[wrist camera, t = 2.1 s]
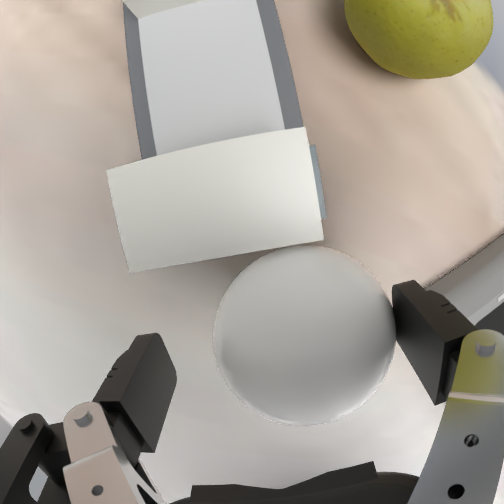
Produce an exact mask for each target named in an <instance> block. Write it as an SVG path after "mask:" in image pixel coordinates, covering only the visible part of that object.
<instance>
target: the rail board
mask: <svg viewBox="0 0 504 504" xmlns="http://www.w3.org/2000/svg"><path fill="white" fill-rule="evenodd" d="M123 9H124V24H125V36H126V47H127V57H128V67H129V76H130V84H131V92H132V99H133V106H134V113H135V120H136V126H137V133H138V139H139V145H140V151H141V156H142V160H143V159H147V158H150V157H154V156H158V155H162V154H166V153H170V152H174V151H178V150H182V149H186V148H191V147H195V146H200V145H204V144H209V143H214V142H218V141H223V140H228V139H233V138H239V137H244V136H249V135H255V134H261V133H267V132H273V131H279V130H286V129H293V128H300V127H303V122H302V117H301V112H300V107H299V102H298V97H297V92H296V88H295V83H294V79H293V74H292V70H291V66H290V61H289V57H288V53H287V49H286V45H285V41H284V37H283V33H282V29H281V25H280V21H279V17H278V14H277V10H276V6H275V3H274V0H205V1H200V2H196V3H192V4H188V5H184V6H180V7H176V8H172V9H169V10H165V11H162V12H159V13H155V14H152V15H149V16H146V17H143V18H140V19H138V18H137V17H136V16H135V15H134V14H133V13H132V12H131V10H130V9H129V8H128V7H127V6H126V5H125V4H124V2H123Z"/></svg>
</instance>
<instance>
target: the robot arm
mask: <svg viewBox="0 0 504 504" xmlns="http://www.w3.org/2000/svg"><path fill="white" fill-rule="evenodd" d="M392 305H393V312H394V316H395V322H396V340H397V342H398V344H399V345H400V347H401V349H402V350H403V352H404V354H405V355H406V357H407V359H408V360H409V362H410V363H411V365H412V367H413V369H414V370H415V372H416V374H417V375H418V377H419V379H420V380H421V382H422V384H423V386H424V387H425V389H426V391H427V393H428V394H429V396H430V398H431V400H432V401H433V403H434V405H438V404H440V403H443V402H445V401H447V403H446V406H445V409H444V413H443V416H442V419H441V422H440V425H439V428H438V431H437V434H436V437H435V440H434V442H433V445H432V448H431V450H430V453H429V456H428V458H427V461H426V463H425V466H424V468H423V470H422V473H421V475H420V477H417V476H414V475H410V474H405V473H397V472H376V469H375V465H374V462H373V461H372V462H368V463H364V464H360V465H356V466H352V467H348V468H344V469H339V470H335V471H330V472H327V473H324V474H322V475H319V476H317V477H314V478H312V479H309V480H307V481H304V482H301V483H299V484H296V485H293V486H290V487H287V488H284V489H268V488H259V487H251V486H243V485H236V484H229V485H192V491H191V496H190V497H188V498H184V499H181V500H178V501H175V502H173V503H170V504H493V501H494V497H495V494H496V490H497V486H498V482H499V478H500V474H501V469H502V464H503V460H504V335H502V334H501V333H499V332H497V331H494V330H488V329H482V330H478V329H477V328H476V327H475V326H474V325H473V324H472V323H471V322H470V321H469V320H468V319H467V318H466V317H465V316H464V315H463V314H462V313H461V312H460V311H459V310H458V311H457V308H456V307H455V306H454V305H453V304H451V302H450V301H449V300H448V299H446V298H445V297H444V296H443V295H442V294H439V293H437V292H435V291H432V290H428V291H425V290H424V289H423V288H422V287H421V286H420V285H419V284H418V283H417V282H416V281H415V280H411V281H407V282H403V283H399V284H396V285H393V287H392ZM111 369H112V370H110V372H109V373H108V375H107V378H105V380H104V382H103V383H102V385H101V387H100V389H99V390H98V392H97V394H96V396H95V397H94V399H93V401H92V402H85V403H81V404H79V405H77V406H75V407H74V408H72V409H71V410H70V411H69V412H68V413H67V415H66V416H65V418H64V421H63V422H61V423H56V424H51V425H48V423H47V422H46V421H45V419H44V418H43V417H42V415H40V414H37V413H33V414H29V415H26V416H24V417H23V418H21V419H20V420H19V421H18V422H17V423H16V424H15V426H14V427H13V429H12V430H11V432H10V434H9V435H8V437H7V438H6V440H5V442H4V443H3V445H2V446H1V448H0V504H167V503H166V502H165V501H164V499H163V498H162V496H161V494H160V493H159V491H158V490H157V488H156V486H155V485H154V483H153V481H152V479H151V478H150V476H149V474H148V472H147V471H146V469H145V467H144V465H143V463H142V462H141V461H140V459H139V455H140V453H141V452H146V453H155V449H156V446H157V443H158V440H159V437H160V433H161V430H162V427H163V424H164V421H165V417H166V414H167V411H168V408H169V405H170V402H171V399H172V395H173V392H174V389H175V386H176V382H177V376H176V370H175V367H174V365H173V363H172V361H171V358H170V356H169V354H168V352H167V349H166V347H165V345H164V342H163V340H162V338H161V336H160V335H159V334H158V333H152V334H145V335H138V336H136V338H135V339H134V341H133V343H132V344H131V346H130V348H129V349H128V350H127V351H125V352H124V353H123V354H122V355H121V356H120V357H119V358H118V359H117V360H116V362H115V363H114V365H113V367H112V368H111ZM38 466H39V467H40V468H41V469H42V470H43V471H44V472H45V474H46V475H47V476H48V479H47V481H46V483H45V486H44V488H43V490H42V492H41V495H40V497H39V500H38V502H36V501H35V500H34V499H33V498H32V497H31V495H30V493H29V484H30V481H31V479H32V477H33V475H34V473H35V471H36V469H37V467H38Z"/></svg>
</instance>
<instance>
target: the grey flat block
mask: <svg viewBox="0 0 504 504" xmlns="http://www.w3.org/2000/svg"><path fill="white" fill-rule="evenodd" d="M424 290H425V291H428V290H432V291H435V292H437V293H439V294H442V295H443V296H444V297H445V298H446V299H448V300H449V301H450V302H451V304H453V305H454V306H455V307H456V308H457V311H458V310H459V311H460V312H461V313H462V314H463V315H464V316H465V317H466V318H467V319H468V320H469V321H470V322H471V323H472V324H473V325H474V326H475V327H476V328H477V329H478V330H482V329H488V330H494V331H497V332H499V333H501V334H502V335H504V234H503V235H501V236H500V237H499V238H498V239H496V240H495V241H494V242H492V243H491V244H490V245H488V246H487V247H486V248H484V249H483V250H481V251H480V252H479V253H477V254H476V255H475V256H473V257H472V258H470V259H469V260H468V261H466V262H465V263H463V264H462V265H460V266H459V267H457V268H456V269H455V270H453V271H452V272H450V273H449V274H447V275H446V276H444V277H443V278H441V279H440V280H438V281H436V282H435V283H433V284H432V285H430V286H429V287H427V288H426V289H424Z"/></svg>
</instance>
